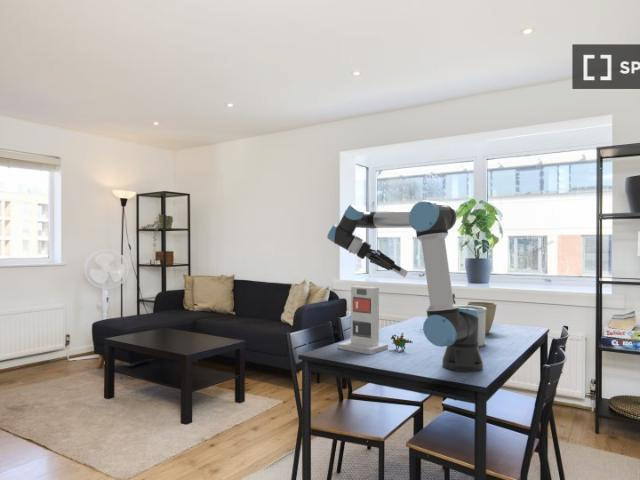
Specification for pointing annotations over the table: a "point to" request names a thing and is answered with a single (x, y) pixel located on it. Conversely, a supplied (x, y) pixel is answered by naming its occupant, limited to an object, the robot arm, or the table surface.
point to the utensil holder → (479, 321)
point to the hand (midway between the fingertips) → (406, 274)
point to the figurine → (400, 341)
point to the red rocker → (361, 304)
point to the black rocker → (362, 329)
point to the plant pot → (487, 313)
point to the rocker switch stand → (365, 322)
